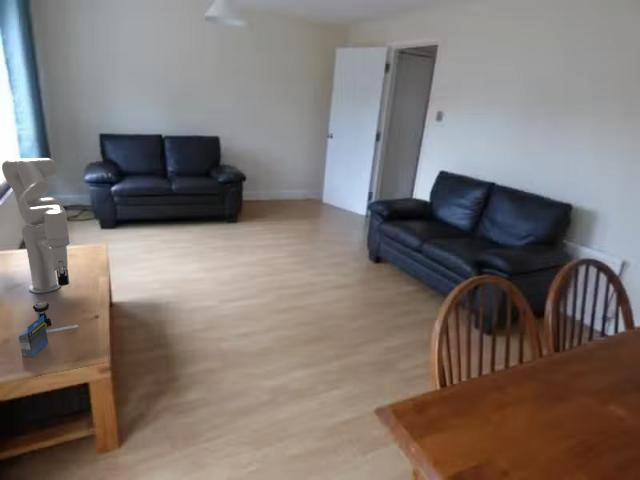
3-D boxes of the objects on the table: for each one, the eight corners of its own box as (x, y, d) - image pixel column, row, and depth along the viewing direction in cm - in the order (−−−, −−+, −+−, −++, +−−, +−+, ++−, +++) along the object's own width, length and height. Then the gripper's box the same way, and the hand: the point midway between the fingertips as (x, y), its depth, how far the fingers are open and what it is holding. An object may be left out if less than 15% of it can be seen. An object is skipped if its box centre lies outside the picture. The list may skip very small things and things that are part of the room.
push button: (34, 332, 162) (30, 309, 158) (30, 326, 165) (26, 304, 162) (53, 326, 166) (50, 304, 163) (49, 321, 170) (46, 299, 166)
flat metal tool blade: (39, 332, 162) (39, 331, 162) (77, 325, 169) (77, 324, 169) (39, 334, 160) (39, 334, 160) (78, 327, 167) (78, 326, 167)
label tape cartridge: (38, 342, 156) (33, 313, 152) (48, 343, 156) (44, 314, 152) (21, 356, 147) (16, 326, 143) (32, 357, 147) (27, 327, 143)
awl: (58, 282, 173) (55, 260, 169) (69, 281, 175) (66, 259, 171) (58, 286, 169) (55, 263, 166) (69, 285, 171) (66, 262, 168)
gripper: (46, 234, 170) (52, 275, 176) (47, 249, 157) (53, 292, 163) (68, 233, 174) (73, 272, 180) (70, 247, 161) (75, 289, 167)
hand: (63, 281), depth 172 cm, fingers closed on awl, 4 cm apart
